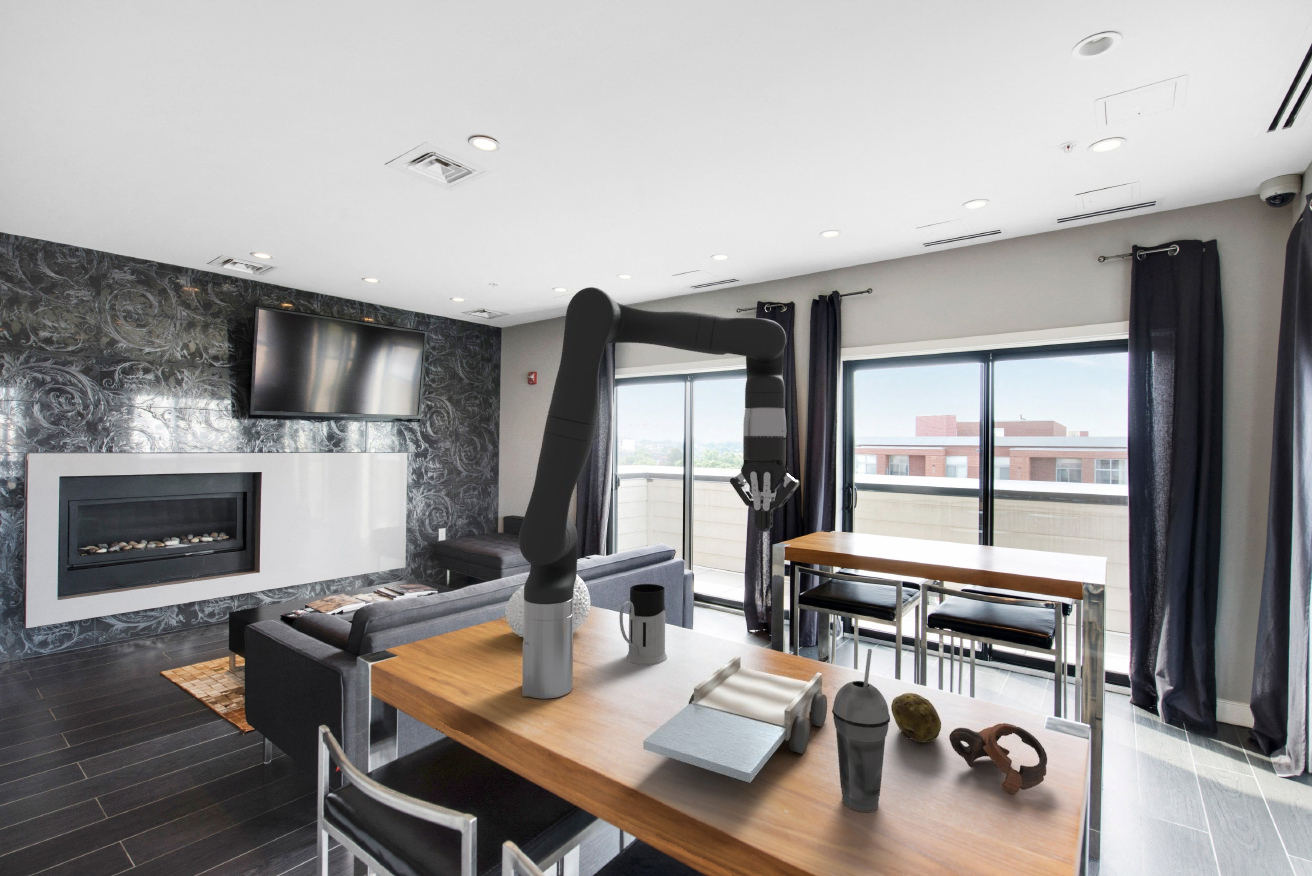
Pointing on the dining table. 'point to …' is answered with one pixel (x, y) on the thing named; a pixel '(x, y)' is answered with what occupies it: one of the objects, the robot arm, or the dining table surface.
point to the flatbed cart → (765, 699)
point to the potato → (916, 717)
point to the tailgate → (717, 741)
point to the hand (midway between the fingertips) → (763, 530)
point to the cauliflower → (579, 607)
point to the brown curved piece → (1001, 754)
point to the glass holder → (645, 624)
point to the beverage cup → (860, 741)
